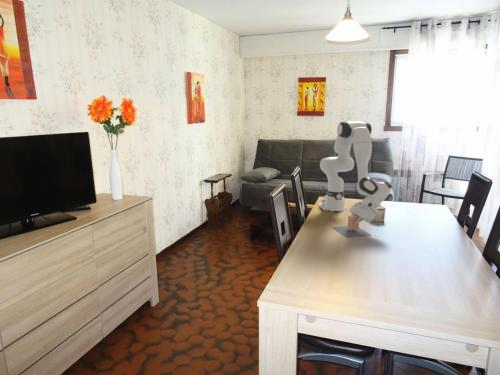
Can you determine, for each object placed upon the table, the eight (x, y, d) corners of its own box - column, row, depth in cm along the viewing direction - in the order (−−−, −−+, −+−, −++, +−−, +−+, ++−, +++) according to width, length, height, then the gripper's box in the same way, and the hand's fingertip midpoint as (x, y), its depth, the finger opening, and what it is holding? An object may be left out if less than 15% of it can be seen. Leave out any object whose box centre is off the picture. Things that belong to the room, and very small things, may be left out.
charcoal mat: (332, 227, 217) (332, 227, 217) (355, 225, 221) (355, 225, 221) (346, 237, 200) (346, 236, 200) (371, 235, 204) (371, 234, 204)
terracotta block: (347, 227, 212) (348, 215, 211) (354, 227, 213) (355, 214, 212) (351, 230, 208) (352, 217, 206) (358, 229, 208) (359, 217, 207)
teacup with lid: (384, 222, 227) (386, 205, 224) (370, 221, 230) (371, 204, 227) (384, 217, 238) (385, 201, 235) (370, 216, 241) (371, 200, 238)
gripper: (356, 197, 218) (341, 213, 218) (374, 206, 199) (357, 223, 199) (362, 204, 220) (347, 220, 220) (381, 213, 201) (364, 230, 201)
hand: (352, 221), depth 209 cm, fingers closed on terracotta block, 5 cm apart
